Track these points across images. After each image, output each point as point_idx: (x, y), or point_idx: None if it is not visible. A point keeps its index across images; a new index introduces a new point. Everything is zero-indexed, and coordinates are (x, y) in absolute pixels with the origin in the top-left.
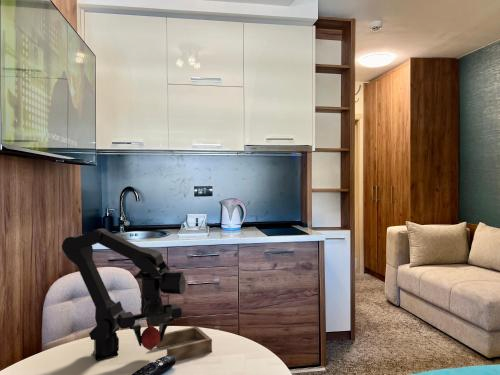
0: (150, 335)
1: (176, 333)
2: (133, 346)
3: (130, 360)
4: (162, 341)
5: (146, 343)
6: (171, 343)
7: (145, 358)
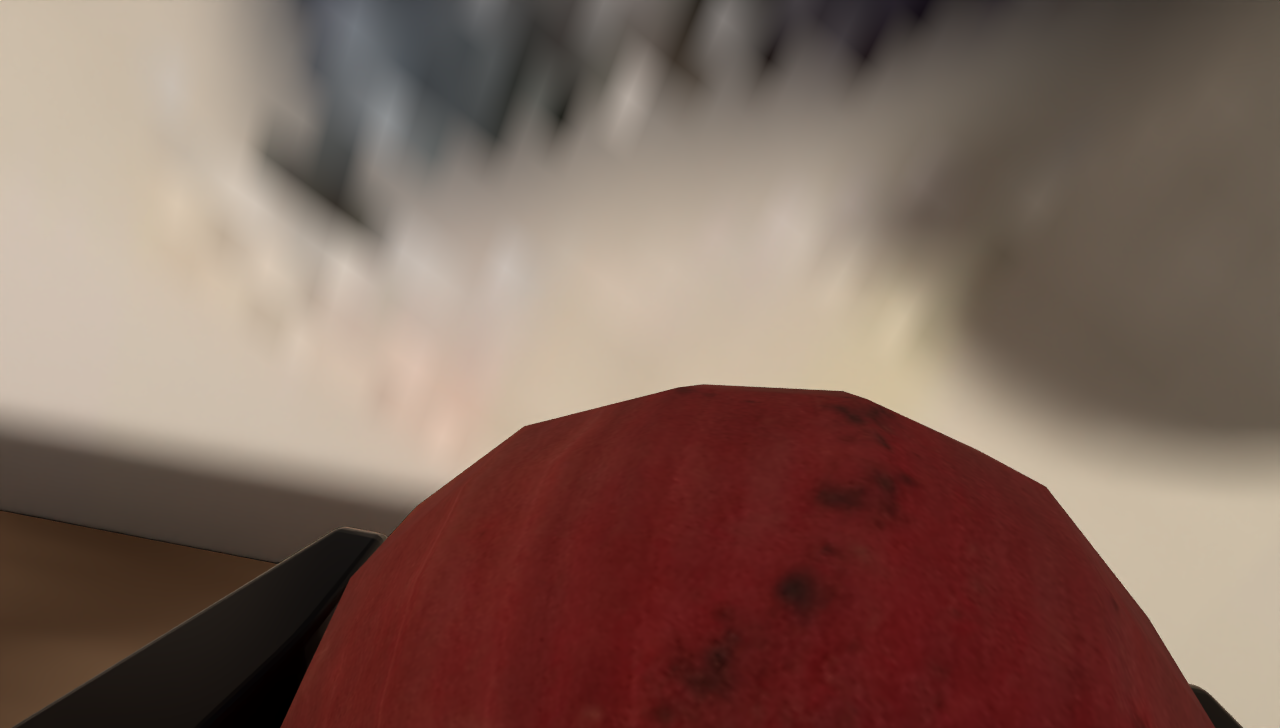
0: None
1: None
2: None
3: (1214, 536)
4: None
5: (1107, 586)
6: (156, 574)
7: (885, 404)
